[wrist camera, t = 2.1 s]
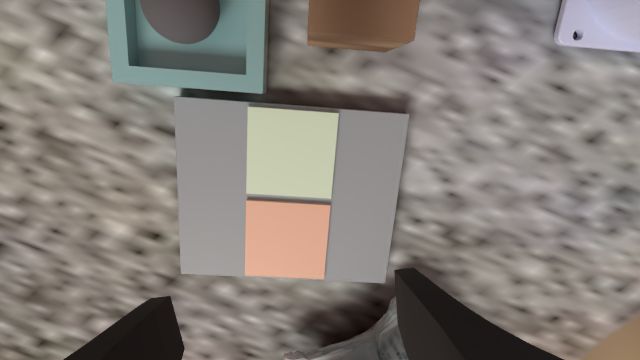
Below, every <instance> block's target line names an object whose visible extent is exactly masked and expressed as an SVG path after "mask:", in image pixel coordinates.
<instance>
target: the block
mask: <svg viewBox="0 0 640 360" xmlns="http://www.w3.org/2000/svg"><path fill="white" fill-rule="evenodd" d="M419 2H420V0H310V2H309V18H308V46H319V47H331V48H342V49H354V50H365V51H377V52H387V51H389V50H392V49H394V48H397V47H399V46H402V45H404V44H407V43H409V42H412V41H414V37H415V30H416V23H417V16H418V9H419Z"/></svg>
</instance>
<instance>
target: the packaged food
mask: <svg viewBox="0 0 640 360" xmlns="http://www.w3.org/2000/svg"><path fill="white" fill-rule="evenodd" d="M283 358H284V360H409V359H408V357H407V355H406V351H405V348H404V345H403V341H402V338H401V334H400V331H399V327H398V323H397V306H396V296H395V297H394V298H392V299H391V301H390V305H389V308H388V311H387V312H386V314H384V315H383V317H382V318H381V319H380V320H379V321H378V322H377V323H376V324H374V325H373V326H372V327H371V328H370V329H368V330H367V331H365V332H364V333H362V334H360V335H357V336H354V337H352V338H351V339H348V340H345V341H342V342H340V343H337V344H332V345H329V346H327V347H323V348H319V349H316V350H310V351H308V352H300V351H296V352H295V353H292V352H290V353H285V354H284V356H283Z"/></svg>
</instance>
